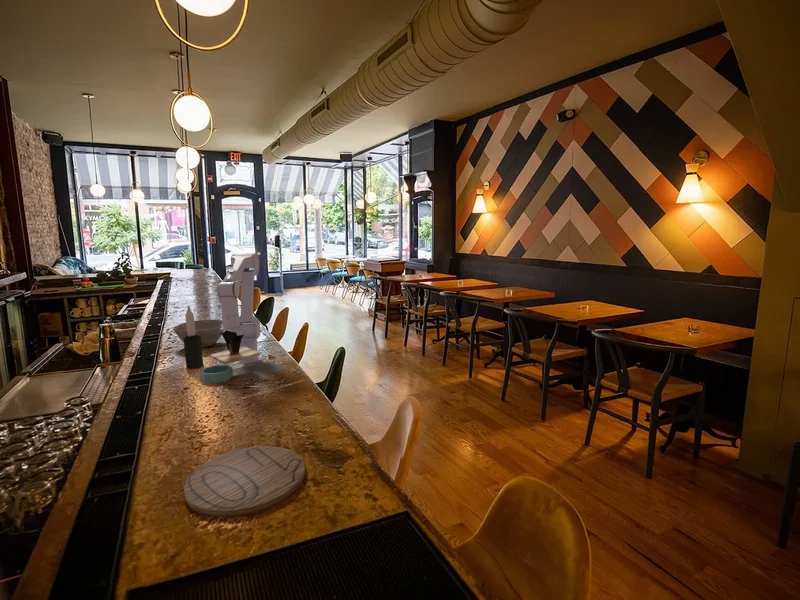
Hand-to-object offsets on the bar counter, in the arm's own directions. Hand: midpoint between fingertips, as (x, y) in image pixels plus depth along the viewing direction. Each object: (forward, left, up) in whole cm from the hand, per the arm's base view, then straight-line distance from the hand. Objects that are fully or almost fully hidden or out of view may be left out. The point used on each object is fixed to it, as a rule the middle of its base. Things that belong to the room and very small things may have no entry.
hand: (233, 351), depth 165 cm
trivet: (+69, -27, -10) cm, 75 cm away
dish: (-1, -7, -10) cm, 12 cm away
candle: (-21, -7, -10) cm, 24 cm away
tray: (+1, +8, -10) cm, 13 cm away
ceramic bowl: (-53, +7, -10) cm, 54 cm away
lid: (0, 0, -2) cm, 2 cm away
